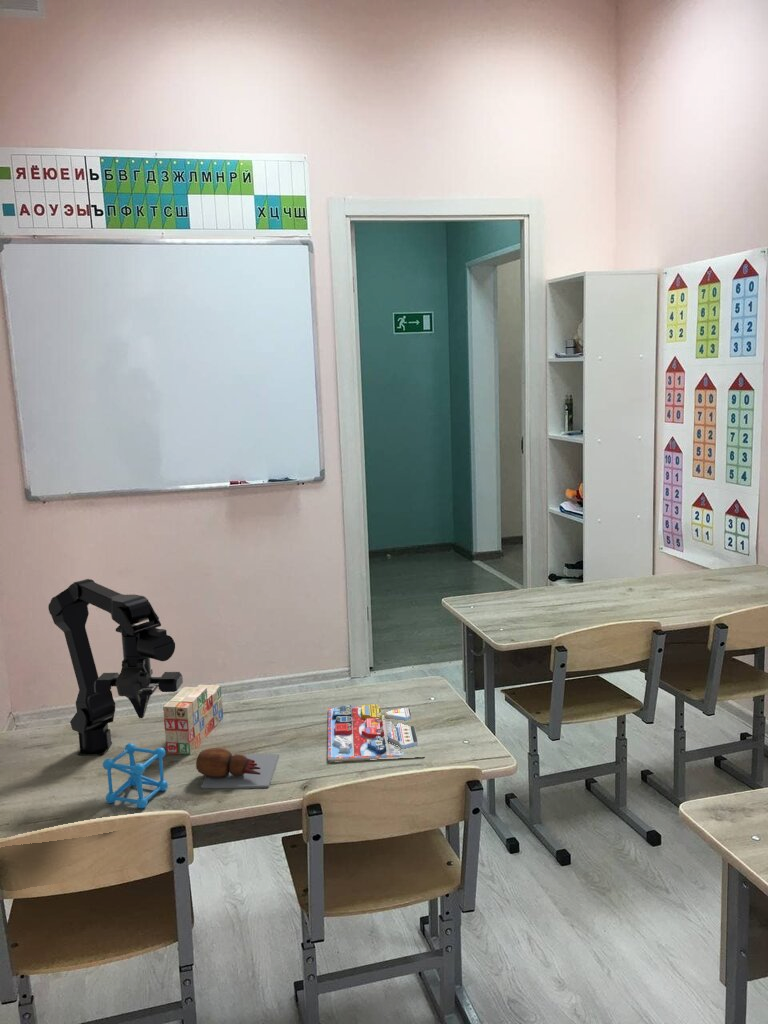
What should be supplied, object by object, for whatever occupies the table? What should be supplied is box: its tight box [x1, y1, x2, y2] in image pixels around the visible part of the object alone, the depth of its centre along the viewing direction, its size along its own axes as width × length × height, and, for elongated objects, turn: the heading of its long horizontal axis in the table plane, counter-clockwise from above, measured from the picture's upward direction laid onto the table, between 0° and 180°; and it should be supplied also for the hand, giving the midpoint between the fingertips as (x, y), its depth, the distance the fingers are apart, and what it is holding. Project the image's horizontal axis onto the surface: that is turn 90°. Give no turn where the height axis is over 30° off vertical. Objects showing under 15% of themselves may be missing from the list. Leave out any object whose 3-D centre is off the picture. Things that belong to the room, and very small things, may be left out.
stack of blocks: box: [162, 684, 224, 755], centre depth 210 cm, size 21×6×12 cm, turn 169°
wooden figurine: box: [195, 747, 261, 778], centre depth 188 cm, size 7×6×15 cm
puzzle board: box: [327, 703, 418, 763], centre depth 210 cm, size 30×23×3 cm
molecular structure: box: [102, 742, 169, 809], centre depth 181 cm, size 10×10×10 cm
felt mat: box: [200, 753, 280, 789], centre depth 191 cm, size 15×15×1 cm
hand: (141, 717), depth 191 cm, fingers closed
